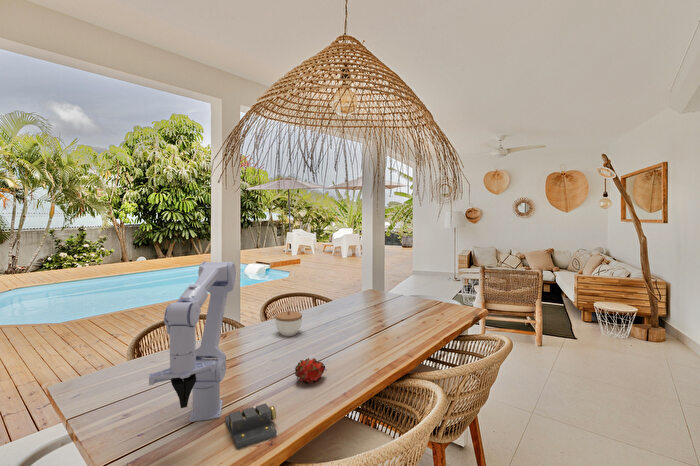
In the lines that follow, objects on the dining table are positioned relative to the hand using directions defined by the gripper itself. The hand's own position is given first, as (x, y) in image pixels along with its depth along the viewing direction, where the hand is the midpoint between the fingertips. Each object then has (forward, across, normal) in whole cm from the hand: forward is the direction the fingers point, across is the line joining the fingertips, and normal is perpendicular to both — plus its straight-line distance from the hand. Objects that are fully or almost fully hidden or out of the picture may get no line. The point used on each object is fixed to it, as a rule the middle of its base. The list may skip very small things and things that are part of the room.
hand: (183, 405), depth 86 cm
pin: (+9, +17, -2) cm, 19 cm away
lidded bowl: (+10, +53, +64) cm, 83 cm away
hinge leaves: (+10, +16, -2) cm, 19 cm away
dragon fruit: (+10, +41, +15) cm, 45 cm away
